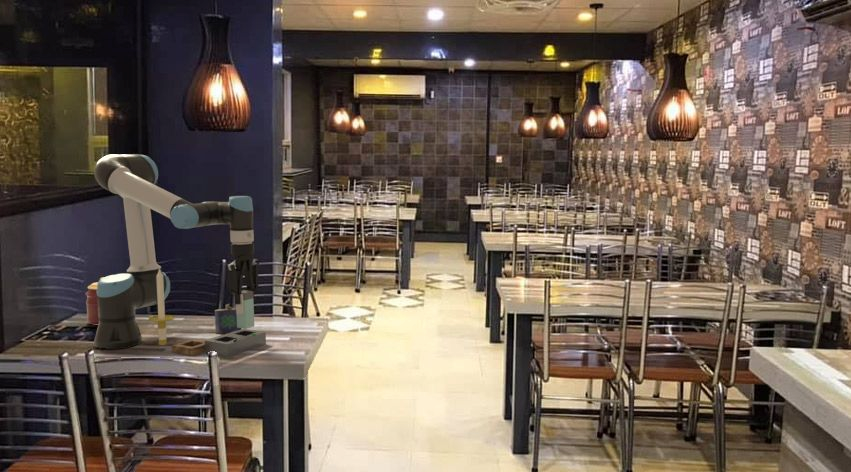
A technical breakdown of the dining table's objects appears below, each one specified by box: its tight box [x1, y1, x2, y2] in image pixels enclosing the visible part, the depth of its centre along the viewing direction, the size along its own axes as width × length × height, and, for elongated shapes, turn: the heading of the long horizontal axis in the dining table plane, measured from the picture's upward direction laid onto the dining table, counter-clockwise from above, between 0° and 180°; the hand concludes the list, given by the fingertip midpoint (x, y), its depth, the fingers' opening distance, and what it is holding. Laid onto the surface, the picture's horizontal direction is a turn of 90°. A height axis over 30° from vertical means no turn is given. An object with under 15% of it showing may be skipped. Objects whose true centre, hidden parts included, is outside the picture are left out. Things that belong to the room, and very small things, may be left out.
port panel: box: [203, 328, 267, 358], centre depth 245 cm, size 10×18×5 cm, turn 151°
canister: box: [85, 276, 104, 324], centre depth 285 cm, size 13×13×18 cm
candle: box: [148, 268, 176, 346], centre depth 250 cm, size 10×10×27 cm
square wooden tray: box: [171, 338, 205, 357], centre depth 243 cm, size 9×9×3 cm
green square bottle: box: [237, 289, 255, 329], centre depth 248 cm, size 4×4×12 cm
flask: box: [214, 303, 243, 336], centre depth 268 cm, size 9×3×11 cm, turn 105°
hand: (245, 312), depth 248 cm, fingers closed on green square bottle, 4 cm apart
